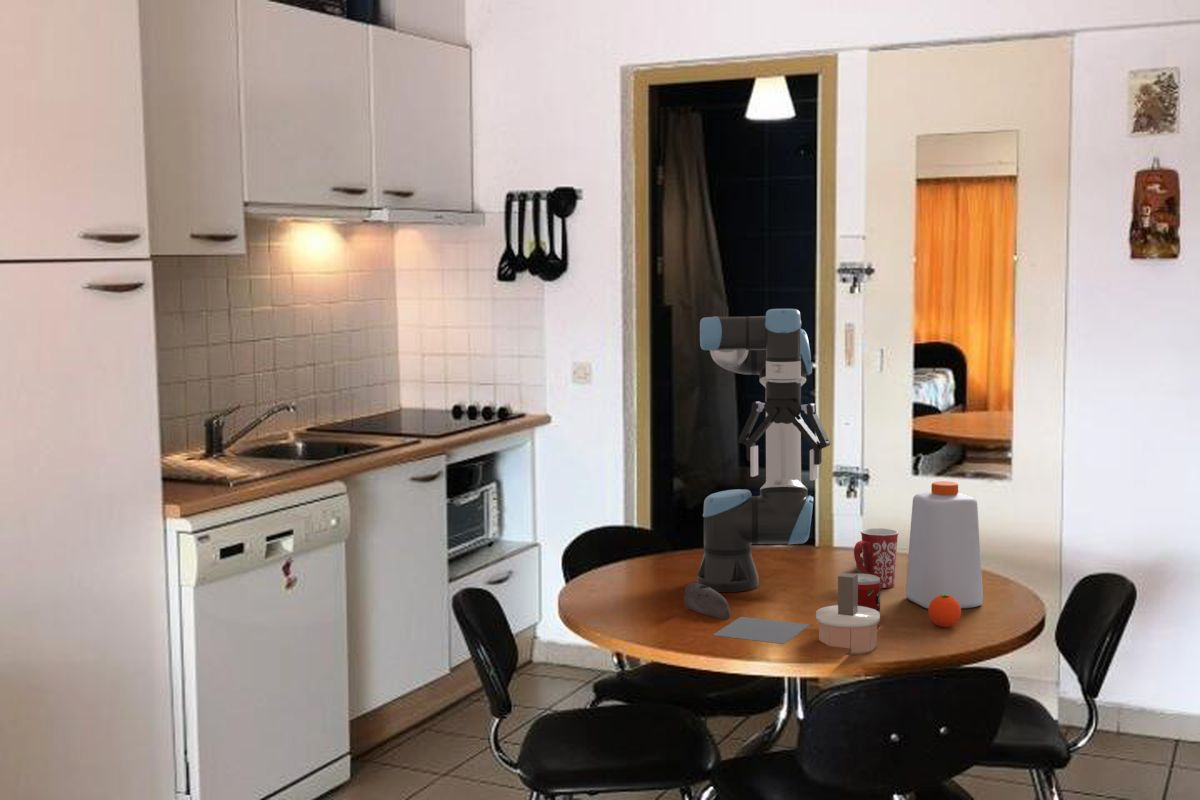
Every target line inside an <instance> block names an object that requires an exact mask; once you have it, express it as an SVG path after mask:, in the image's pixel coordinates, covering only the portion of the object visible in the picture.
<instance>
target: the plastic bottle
mask: <svg viewBox="0 0 1200 800" xmlns="http://www.w3.org/2000/svg"><path fill="white" fill-rule="evenodd" d="M930 488H931V491H929V492H920V493H916V494H915V495H914V496H913V498H912V503H911V504H912V505H911V518H910V530H909V544H908V555H907V556H908V557H907V568H906V569H907V570H906V584H905V596H906V598H907V599H908V600H909V601H911V602H913V603H915V604H916V605H918V606H920V607H922V608H924V609H928V610H929V605H930V603H931V601H932V600H933V599H934V598H936V597H937V596H940V594H946V595H948V596H951V597H953V598H954V599H956V600H957V601H958V603H959V605H960V607H961V610H962V609H970V608H977V607H979V606H980V605H982V603H983V602H984V594H983V578H982V562H981V561H982V559H981V545H980V544H981V542H980V541H981V540H980V529H979V528H980V527H979V526H980V525H979V511H978V508H979V507H978V501H977V499H975V498H974V497H972V496H971V495H970V496H969V495H968V494H964V493H961V492H959V484H958V483H957V482H955V481H948V480H947V481H933V482H932V483H931V487H930Z"/></svg>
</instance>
